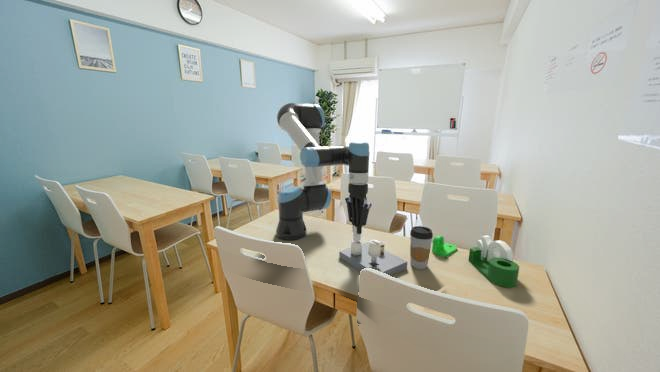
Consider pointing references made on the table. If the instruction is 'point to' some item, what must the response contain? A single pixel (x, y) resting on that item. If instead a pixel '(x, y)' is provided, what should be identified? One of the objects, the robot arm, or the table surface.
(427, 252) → the coffee cup
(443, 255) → the mechanical part
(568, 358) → the table surface
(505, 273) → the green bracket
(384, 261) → the plate
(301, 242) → the table surface
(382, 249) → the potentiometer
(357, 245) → the knob
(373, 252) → the knob
